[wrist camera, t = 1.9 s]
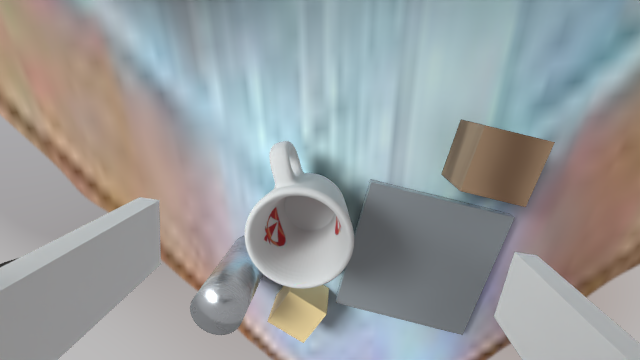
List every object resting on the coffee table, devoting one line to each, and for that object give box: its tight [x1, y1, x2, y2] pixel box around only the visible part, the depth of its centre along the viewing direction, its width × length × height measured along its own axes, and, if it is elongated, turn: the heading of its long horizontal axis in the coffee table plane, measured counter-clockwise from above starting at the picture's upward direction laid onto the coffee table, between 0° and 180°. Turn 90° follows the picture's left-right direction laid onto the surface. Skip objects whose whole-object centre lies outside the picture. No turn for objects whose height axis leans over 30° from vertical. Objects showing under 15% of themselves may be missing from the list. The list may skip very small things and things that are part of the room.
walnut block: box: [442, 120, 555, 207], centre depth 25 cm, size 5×5×5 cm
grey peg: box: [190, 236, 263, 335], centre depth 28 cm, size 4×4×9 cm
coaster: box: [336, 179, 514, 335], centre depth 30 cm, size 13×13×1 cm
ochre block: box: [268, 285, 329, 343], centre depth 31 cm, size 4×4×4 cm
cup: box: [245, 141, 354, 289], centre depth 26 cm, size 11×8×8 cm
